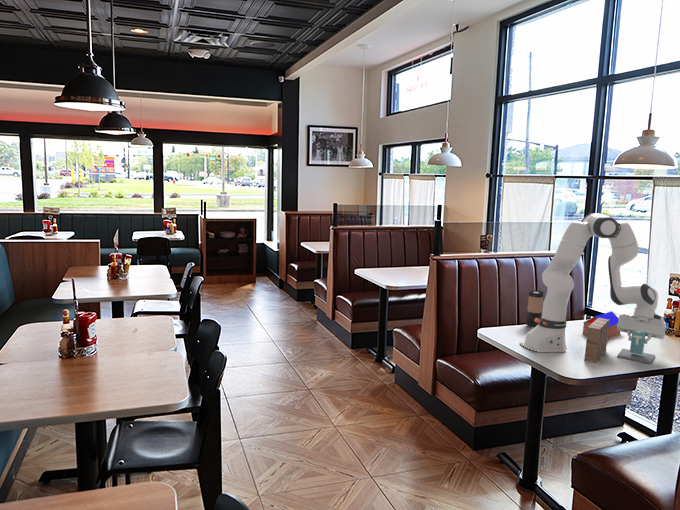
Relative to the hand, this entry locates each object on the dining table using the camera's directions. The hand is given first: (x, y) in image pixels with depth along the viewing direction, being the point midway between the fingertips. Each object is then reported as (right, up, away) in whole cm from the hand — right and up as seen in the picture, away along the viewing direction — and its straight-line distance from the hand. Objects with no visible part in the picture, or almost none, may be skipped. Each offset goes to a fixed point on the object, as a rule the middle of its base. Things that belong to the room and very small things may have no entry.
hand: (637, 341), depth 247 cm
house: (+2, -3, +38) cm, 38 cm away
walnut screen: (-19, -7, +2) cm, 21 cm away
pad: (0, -8, +2) cm, 8 cm away
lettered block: (0, -5, +1) cm, 5 cm away
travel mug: (-32, 0, +49) cm, 58 cm away
